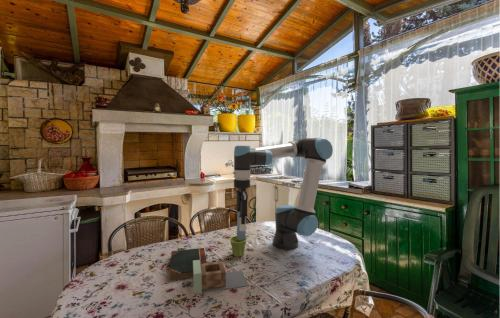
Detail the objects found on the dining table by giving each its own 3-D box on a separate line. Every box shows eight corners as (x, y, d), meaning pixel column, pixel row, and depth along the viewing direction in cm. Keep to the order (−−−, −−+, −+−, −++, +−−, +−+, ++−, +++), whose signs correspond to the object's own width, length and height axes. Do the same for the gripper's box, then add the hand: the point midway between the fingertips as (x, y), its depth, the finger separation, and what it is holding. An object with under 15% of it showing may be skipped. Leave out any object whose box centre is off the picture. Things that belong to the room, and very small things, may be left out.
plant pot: (244, 259, 130) (244, 242, 129) (227, 257, 132) (227, 241, 131) (248, 251, 139) (248, 236, 138) (232, 250, 141) (232, 235, 140)
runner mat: (241, 270, 118) (241, 270, 118) (248, 285, 105) (248, 285, 105) (199, 276, 113) (199, 275, 113) (201, 293, 100) (201, 292, 100)
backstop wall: (200, 277, 112) (199, 259, 112) (201, 292, 101) (201, 273, 100) (193, 278, 112) (192, 260, 111) (194, 293, 100) (193, 274, 100)
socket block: (222, 273, 114) (222, 261, 114) (225, 285, 104) (225, 272, 104) (200, 277, 111) (199, 263, 111) (201, 289, 102) (201, 275, 101)
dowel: (244, 236, 118) (244, 211, 118) (246, 239, 115) (246, 213, 114) (236, 236, 117) (236, 211, 117) (237, 239, 114) (238, 213, 113)
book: (171, 257, 133) (168, 282, 109) (171, 250, 133) (168, 274, 109) (204, 253, 138) (208, 276, 114) (204, 247, 138) (208, 269, 113)
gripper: (230, 176, 122) (230, 224, 123) (237, 181, 106) (237, 235, 107) (245, 176, 124) (245, 223, 125) (254, 181, 107) (254, 234, 108)
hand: (241, 228), depth 116 cm, fingers closed on dowel, 4 cm apart
